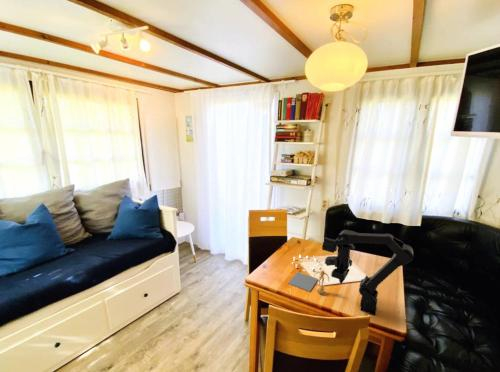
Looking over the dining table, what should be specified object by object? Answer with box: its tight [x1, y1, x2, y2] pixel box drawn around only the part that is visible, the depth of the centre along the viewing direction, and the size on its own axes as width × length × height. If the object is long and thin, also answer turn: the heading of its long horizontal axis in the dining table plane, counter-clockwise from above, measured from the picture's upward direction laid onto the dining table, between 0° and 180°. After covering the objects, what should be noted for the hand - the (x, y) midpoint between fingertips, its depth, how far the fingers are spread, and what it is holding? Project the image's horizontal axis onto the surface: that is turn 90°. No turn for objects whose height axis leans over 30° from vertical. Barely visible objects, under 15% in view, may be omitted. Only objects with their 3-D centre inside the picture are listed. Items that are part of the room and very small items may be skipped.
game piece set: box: [291, 254, 322, 272], centre depth 156 cm, size 19×20×4 cm
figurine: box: [313, 270, 330, 294], centre depth 127 cm, size 8×6×12 cm
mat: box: [287, 271, 319, 293], centre depth 136 cm, size 13×14×1 cm
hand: (340, 282), depth 121 cm, fingers closed
